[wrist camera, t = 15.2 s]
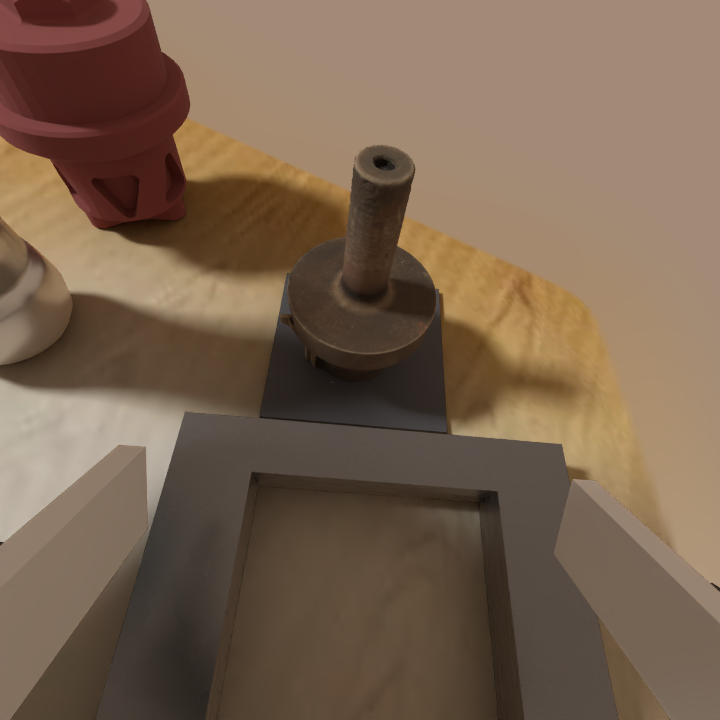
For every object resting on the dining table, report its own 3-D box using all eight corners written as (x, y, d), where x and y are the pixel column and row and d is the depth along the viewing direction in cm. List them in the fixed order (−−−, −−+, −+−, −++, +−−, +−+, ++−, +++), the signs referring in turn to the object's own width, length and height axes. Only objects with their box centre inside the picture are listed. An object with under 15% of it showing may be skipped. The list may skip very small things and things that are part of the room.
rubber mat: (260, 418, 22) (259, 415, 22) (287, 276, 27) (286, 273, 27) (445, 434, 22) (447, 432, 22) (437, 292, 28) (438, 289, 27)
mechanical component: (110, 149, 32) (235, 179, 31) (27, 237, 27) (175, 274, 26) (8, -78, 21) (196, -37, 21) (-162, -6, 16) (83, 51, 16)
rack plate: (40, 1018, 12) (-19, 1109, 10) (197, 431, 21) (185, 411, 19) (633, 1020, 13) (696, 1102, 11) (537, 459, 22) (561, 444, 20)
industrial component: (278, 398, 22) (248, 221, 12) (294, 294, 26) (282, 90, 16) (448, 411, 23) (560, 254, 13) (441, 308, 27) (522, 121, 16)
